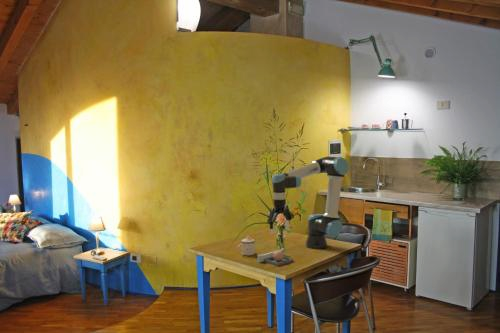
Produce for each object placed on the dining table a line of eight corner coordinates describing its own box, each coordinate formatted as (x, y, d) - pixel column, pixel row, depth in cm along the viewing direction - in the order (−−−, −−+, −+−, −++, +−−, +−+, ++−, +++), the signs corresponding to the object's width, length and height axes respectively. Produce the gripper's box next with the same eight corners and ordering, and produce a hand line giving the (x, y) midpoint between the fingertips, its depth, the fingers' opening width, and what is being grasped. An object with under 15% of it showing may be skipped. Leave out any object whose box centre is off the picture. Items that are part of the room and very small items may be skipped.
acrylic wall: (282, 255, 271) (282, 248, 270) (284, 255, 269) (284, 248, 269) (257, 262, 256) (257, 254, 255) (259, 262, 254) (259, 255, 254)
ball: (278, 258, 261) (278, 249, 260) (285, 261, 256) (285, 251, 255) (271, 260, 256) (271, 250, 256) (278, 263, 252) (278, 253, 251)
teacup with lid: (251, 251, 280) (250, 234, 279) (257, 254, 272) (257, 237, 271) (235, 253, 275) (235, 236, 274) (241, 257, 267) (241, 239, 266)
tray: (279, 257, 265) (279, 254, 265) (293, 261, 256) (293, 259, 256) (264, 261, 256) (264, 259, 256) (277, 266, 247) (277, 263, 247)
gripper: (288, 195, 267) (289, 227, 269) (260, 200, 251) (261, 234, 252) (297, 197, 262) (297, 229, 263) (269, 202, 245) (270, 236, 247)
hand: (280, 232), depth 258 cm, fingers open, 13 cm apart
